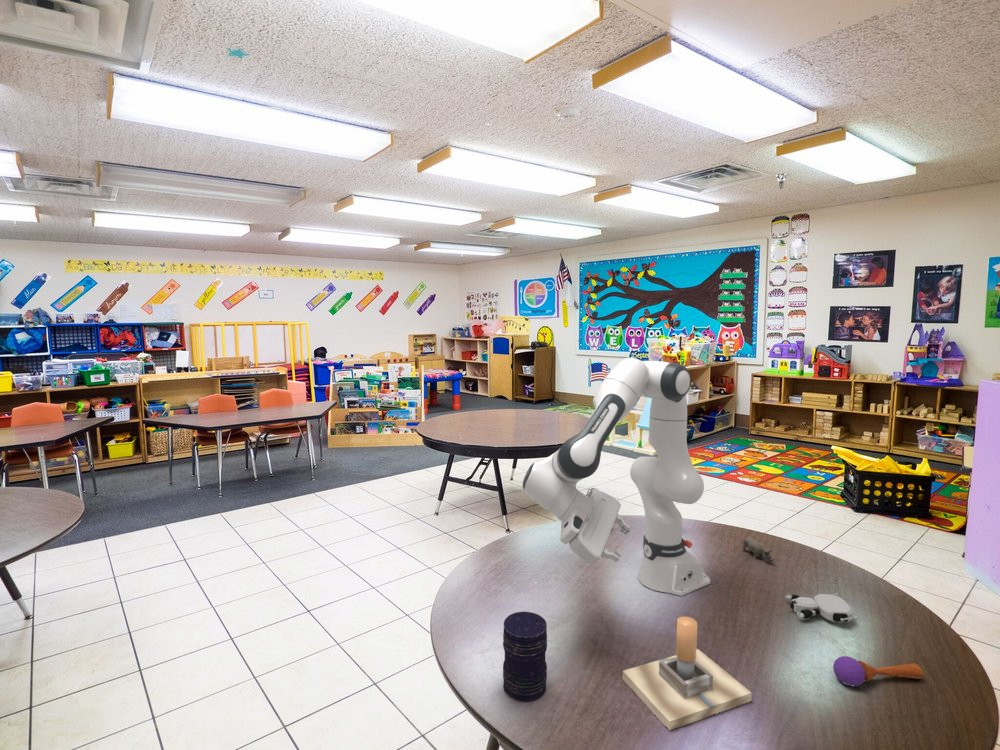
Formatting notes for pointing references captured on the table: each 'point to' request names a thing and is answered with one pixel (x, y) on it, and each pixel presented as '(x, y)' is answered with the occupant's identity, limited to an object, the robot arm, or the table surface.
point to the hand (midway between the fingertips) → (623, 544)
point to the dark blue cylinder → (525, 656)
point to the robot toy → (822, 607)
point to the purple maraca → (870, 671)
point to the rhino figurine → (757, 549)
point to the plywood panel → (685, 690)
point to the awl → (686, 647)
